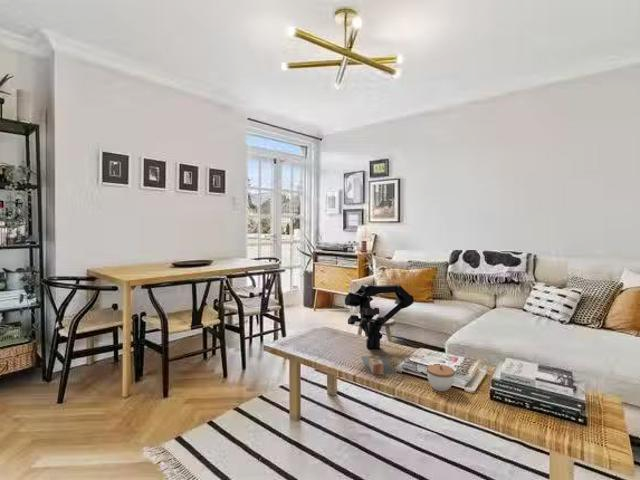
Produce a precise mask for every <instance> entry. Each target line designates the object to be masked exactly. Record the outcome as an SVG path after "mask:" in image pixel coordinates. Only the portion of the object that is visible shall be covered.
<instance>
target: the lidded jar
mask: <svg viewBox="0 0 640 480" xmlns="http://www.w3.org/2000/svg"><path fill="white" fill-rule="evenodd" d="M455 373H456V372H455V369H454V368H452V367H450V366H449V365H445V364H441V365H440V364H434V365H430V366H428V367H427V374H426V375H427V380H428V382H429V385H430V386H431V387H432V388H433V390H435V391H438V392H446V391H449V389H450V388H451V387H452V386H453V384H454V381H455Z"/></svg>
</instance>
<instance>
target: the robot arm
mask: <svg viewBox="0 0 640 480" xmlns="http://www.w3.org/2000/svg"><path fill="white" fill-rule="evenodd" d="M393 293H394V294H395V296H396V299H395V300H394V301H395V302H394V303H392V304H391V305H389V307H388V308H386V310H384V311H382V312H381V313H380V307H374V308H372V305H371V302H372V301H373V300H374V298H373V296H377V295H378V294H393ZM414 299H415V298H414V296H413V295H411V294H410V293H409V292H408V291H407V290H405V289H404V287H403V286H402V285H401V284H385V285H381V284H380V285H374V284H368V283H362V284H361V286H360V288H358V290H357V291H355V293H352V292H351V291H349V292H348V294H346V296H345V298H344V305H345V306H348V307H353V308H357V307H358V308H359V311H358V314H360V317H359V315H357V314H351V315H350V316H349V318H348V319H347V325H355V323H359V324H358V327H360V328H361V329H362V331H363V332H364V333H365V335H366V339H365V340H366V341H365V347H366V348H367V349H368V350H369V351H375V350H376V351H378V350H380V351H381V340H382V338H383V334H382V332H380V331H381V330H382V327H383V326H384V325H385V324H386V323H387V322H388V321H389V320H390V319H392V318H393V317H394V316H395V315H396V314H398V313H399V311H401V310H402V309H407V308H408V307H410V306H412V305H413V304H414ZM377 315H378V316H377ZM376 316H377V317H376ZM375 317H376V318H375Z"/></svg>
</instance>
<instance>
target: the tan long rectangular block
mask: <svg viewBox="0 0 640 480" xmlns="http://www.w3.org/2000/svg"><path fill="white" fill-rule="evenodd" d="M368 356H369V367H370V369H371V371H372V373H371V374H372V375H373V376H375V375H384V373H383V363H382V361H381V360H380V358H379V356H380V355H368Z"/></svg>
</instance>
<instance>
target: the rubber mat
mask: <svg viewBox="0 0 640 480" xmlns="http://www.w3.org/2000/svg"><path fill="white" fill-rule="evenodd" d="M369 356H370V355H361V356H360V358H361V360H362V362H363V364H364V366H365V369H366V371H367V373H368V374H370V375H371V374H373V373H372V371H371V369H370V367H369ZM378 356H379V358H380V360H381V361H382V363H383V374H395V373H396V371H395V370H394V368H393V367H392V366H391V364H390V362H389V361H388V359H387V357H386V356H385V355H378Z"/></svg>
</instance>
